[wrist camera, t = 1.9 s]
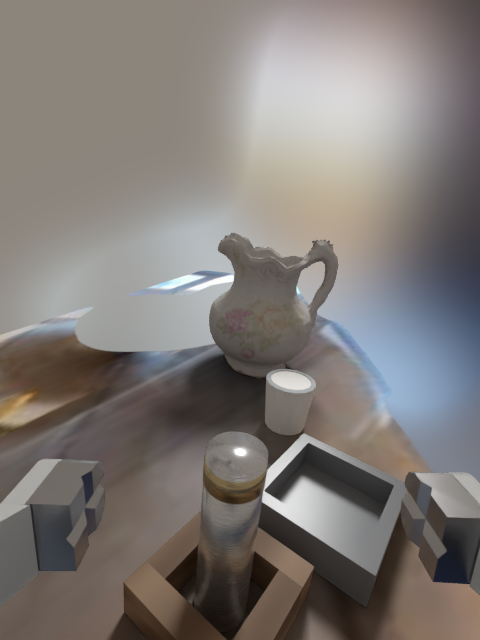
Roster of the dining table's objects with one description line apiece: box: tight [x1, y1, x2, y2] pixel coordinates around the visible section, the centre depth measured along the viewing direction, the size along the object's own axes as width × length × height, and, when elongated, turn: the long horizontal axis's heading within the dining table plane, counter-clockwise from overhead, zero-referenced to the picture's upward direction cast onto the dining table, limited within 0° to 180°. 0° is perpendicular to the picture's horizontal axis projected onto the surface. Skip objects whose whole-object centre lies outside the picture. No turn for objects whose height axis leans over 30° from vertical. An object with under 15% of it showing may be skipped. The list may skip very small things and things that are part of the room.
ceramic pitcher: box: [209, 233, 338, 379], centre depth 64 cm, size 22×20×25 cm
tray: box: [258, 433, 408, 608], centre depth 34 cm, size 12×12×4 cm
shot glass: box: [265, 369, 316, 435], centre depth 48 cm, size 7×7×7 cm
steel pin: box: [194, 431, 268, 633], centre depth 24 cm, size 4×4×14 cm
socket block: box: [124, 511, 314, 640], centre depth 26 cm, size 10×10×3 cm
